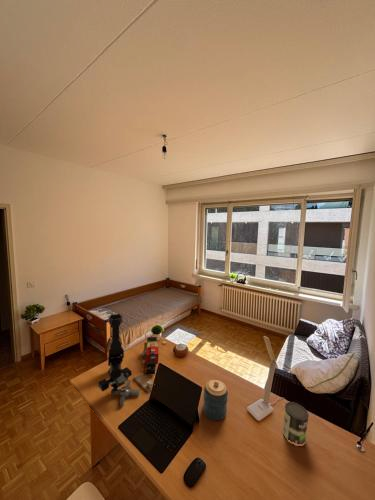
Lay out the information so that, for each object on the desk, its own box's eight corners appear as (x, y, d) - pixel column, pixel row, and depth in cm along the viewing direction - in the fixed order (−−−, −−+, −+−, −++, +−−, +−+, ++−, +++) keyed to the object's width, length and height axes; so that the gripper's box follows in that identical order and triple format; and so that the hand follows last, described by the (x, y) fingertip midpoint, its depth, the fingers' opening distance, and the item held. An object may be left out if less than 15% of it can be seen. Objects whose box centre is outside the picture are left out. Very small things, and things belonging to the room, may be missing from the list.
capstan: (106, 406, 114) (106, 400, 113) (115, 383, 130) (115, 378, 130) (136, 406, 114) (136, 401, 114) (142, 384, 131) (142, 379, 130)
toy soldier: (141, 379, 137) (141, 350, 166) (159, 377, 140) (157, 349, 169) (141, 360, 135) (142, 334, 164) (160, 359, 137) (157, 333, 166)
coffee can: (310, 441, 100) (313, 414, 99) (296, 451, 96) (299, 423, 94) (291, 423, 109) (293, 398, 108) (277, 431, 105) (280, 405, 103)
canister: (198, 410, 114) (199, 380, 113) (211, 397, 124) (213, 369, 122) (217, 426, 105) (219, 394, 104) (230, 411, 115) (233, 381, 113)
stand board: (133, 379, 135) (133, 373, 135) (141, 375, 139) (141, 369, 139) (148, 393, 124) (148, 387, 124) (155, 388, 129) (156, 382, 128)
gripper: (106, 382, 109) (106, 409, 111) (136, 366, 123) (136, 390, 124) (97, 371, 117) (97, 397, 118) (126, 357, 130) (126, 380, 132)
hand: (115, 391), depth 123 cm, fingers closed, pressing on capstan
